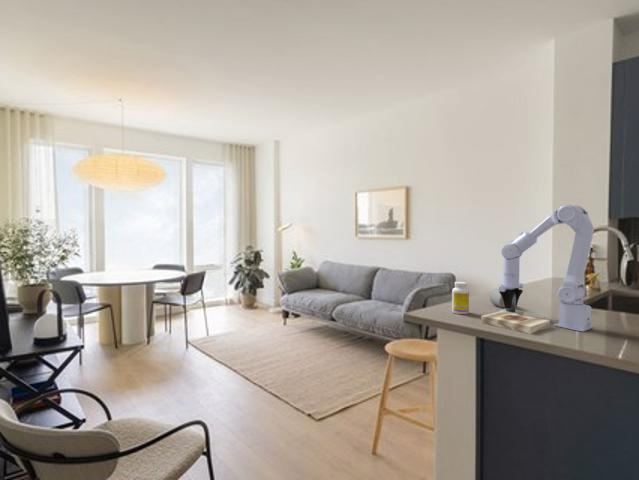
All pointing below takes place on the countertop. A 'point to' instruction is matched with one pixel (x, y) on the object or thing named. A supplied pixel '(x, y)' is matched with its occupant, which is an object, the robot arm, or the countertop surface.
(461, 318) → the countertop surface
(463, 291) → the supplement bottle
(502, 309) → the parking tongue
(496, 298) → the ceramic mug
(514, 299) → the peg
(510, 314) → the hole plate
